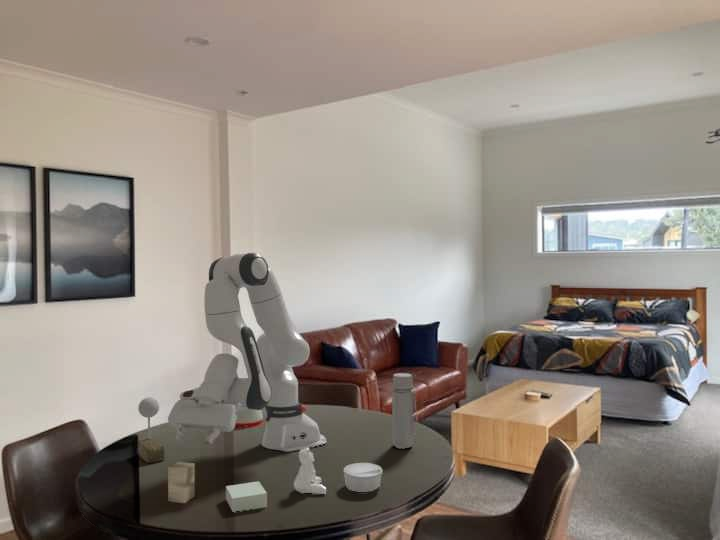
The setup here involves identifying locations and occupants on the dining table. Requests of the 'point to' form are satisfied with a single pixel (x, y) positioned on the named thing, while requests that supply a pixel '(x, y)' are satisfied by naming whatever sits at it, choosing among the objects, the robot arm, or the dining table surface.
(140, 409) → the lollipop
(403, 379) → the water bottle
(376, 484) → the ramekin
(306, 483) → the seated beast figurine
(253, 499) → the sage block
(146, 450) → the stone block
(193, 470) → the birch block
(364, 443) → the dining table surface
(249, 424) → the kitchen timer
